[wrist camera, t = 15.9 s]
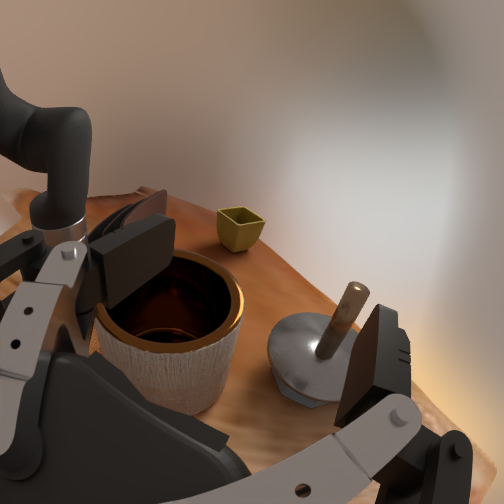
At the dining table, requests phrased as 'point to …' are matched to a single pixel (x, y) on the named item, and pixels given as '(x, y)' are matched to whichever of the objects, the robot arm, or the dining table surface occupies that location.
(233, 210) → the flower pot
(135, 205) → the letter holder
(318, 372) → the spindle on round base
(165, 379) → the planter
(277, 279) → the dining table surface
